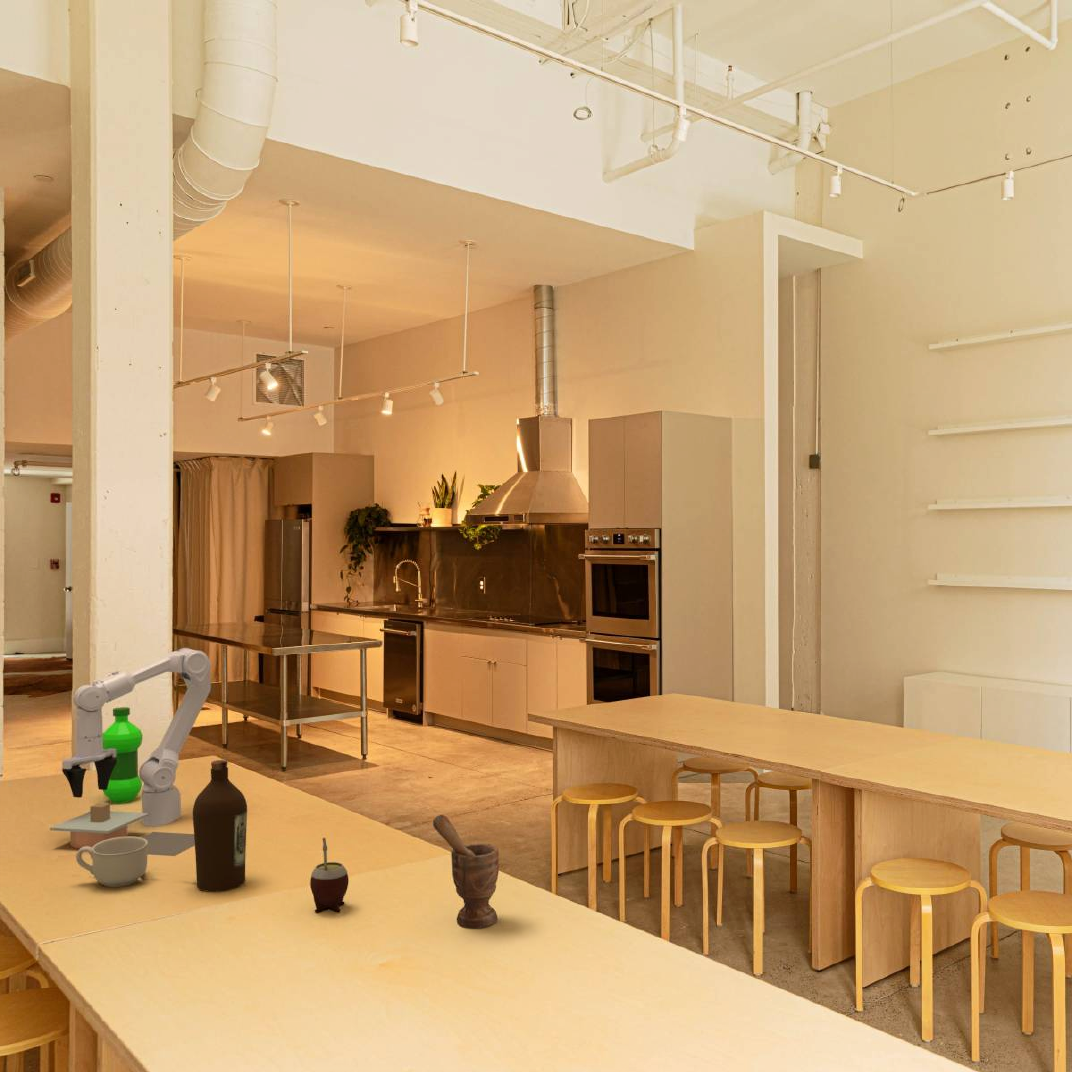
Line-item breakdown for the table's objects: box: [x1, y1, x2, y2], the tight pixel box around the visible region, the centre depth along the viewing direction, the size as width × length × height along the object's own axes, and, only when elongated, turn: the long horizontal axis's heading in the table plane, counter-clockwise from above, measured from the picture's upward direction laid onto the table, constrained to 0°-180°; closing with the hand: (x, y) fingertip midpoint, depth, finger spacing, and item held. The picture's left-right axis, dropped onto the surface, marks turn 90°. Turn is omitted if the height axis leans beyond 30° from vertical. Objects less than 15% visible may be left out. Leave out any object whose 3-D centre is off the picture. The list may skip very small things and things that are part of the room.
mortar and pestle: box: [432, 814, 500, 929], centre depth 187 cm, size 12×9×20 cm
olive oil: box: [192, 759, 248, 893], centre depth 210 cm, size 11×11×25 cm
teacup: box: [75, 835, 148, 888], centre depth 213 cm, size 14×11×8 cm
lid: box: [49, 803, 148, 834], centre depth 240 cm, size 15×15×4 cm
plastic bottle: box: [102, 706, 143, 804], centre depth 280 cm, size 10×10×25 cm
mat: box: [140, 831, 195, 857], centre depth 237 cm, size 16×16×1 cm
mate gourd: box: [309, 837, 349, 914], centre depth 195 cm, size 8×8×15 cm
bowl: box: [69, 825, 129, 849], centre depth 240 cm, size 12×12×5 cm
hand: (90, 793), depth 246 cm, fingers open, 7 cm apart
